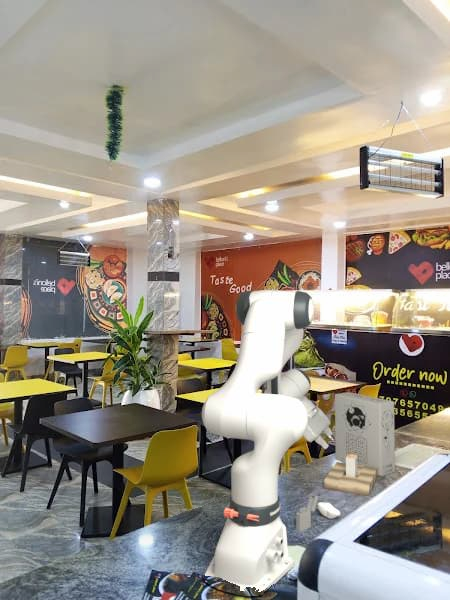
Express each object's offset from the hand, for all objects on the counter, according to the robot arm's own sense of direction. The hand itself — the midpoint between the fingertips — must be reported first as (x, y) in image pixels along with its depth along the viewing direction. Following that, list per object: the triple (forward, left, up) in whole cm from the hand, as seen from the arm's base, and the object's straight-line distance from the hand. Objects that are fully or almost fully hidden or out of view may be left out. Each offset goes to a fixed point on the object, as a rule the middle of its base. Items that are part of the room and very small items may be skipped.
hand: (330, 443), depth 160 cm
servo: (0, -7, -12) cm, 13 cm away
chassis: (0, -7, -12) cm, 14 cm away
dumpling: (-28, -6, -12) cm, 31 cm away
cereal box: (+18, -8, -12) cm, 23 cm away
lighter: (-36, -2, -12) cm, 38 cm away
